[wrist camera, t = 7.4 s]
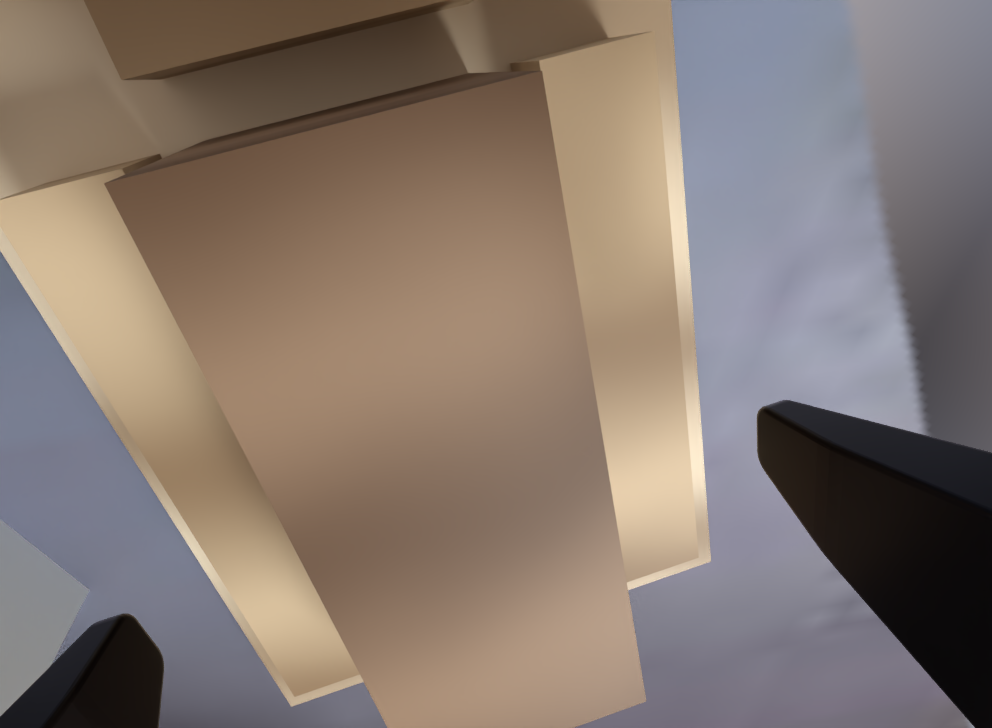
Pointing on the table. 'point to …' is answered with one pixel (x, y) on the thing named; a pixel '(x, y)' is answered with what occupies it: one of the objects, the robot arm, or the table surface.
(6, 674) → the light grey rectangular block
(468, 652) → the tan rectangular bar
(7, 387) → the table surface
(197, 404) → the jig
